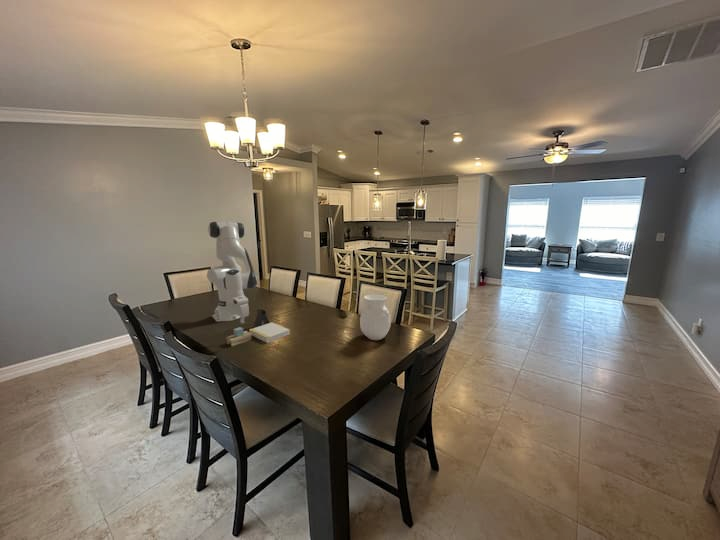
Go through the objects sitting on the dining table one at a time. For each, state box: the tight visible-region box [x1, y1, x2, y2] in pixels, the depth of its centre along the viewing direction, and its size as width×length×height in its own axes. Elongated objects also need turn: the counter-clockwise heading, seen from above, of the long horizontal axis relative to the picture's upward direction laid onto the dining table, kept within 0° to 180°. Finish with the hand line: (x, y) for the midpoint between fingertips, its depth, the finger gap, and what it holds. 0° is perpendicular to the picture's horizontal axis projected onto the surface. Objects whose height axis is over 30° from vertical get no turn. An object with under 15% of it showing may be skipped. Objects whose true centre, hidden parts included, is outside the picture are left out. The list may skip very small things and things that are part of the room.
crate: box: [233, 326, 245, 337], centre depth 167 cm, size 4×4×4 cm
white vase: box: [359, 293, 392, 341], centre depth 169 cm, size 19×18×25 cm
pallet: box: [226, 330, 253, 347], centre depth 168 cm, size 6×12×4 cm, turn 140°
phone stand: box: [253, 308, 271, 328], centre depth 189 cm, size 9×6×12 cm, turn 136°
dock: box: [248, 322, 291, 344], centre depth 177 cm, size 20×16×3 cm
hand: (238, 321), depth 166 cm, fingers open, 8 cm apart
